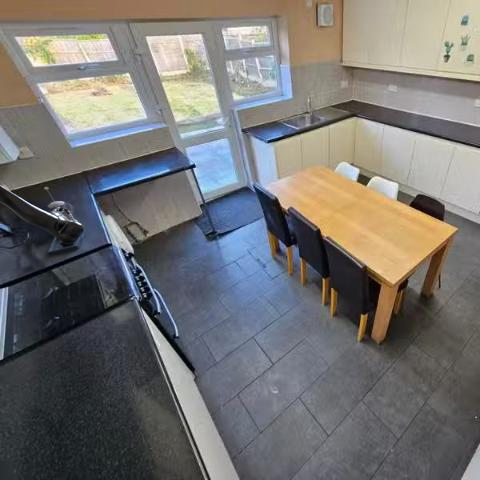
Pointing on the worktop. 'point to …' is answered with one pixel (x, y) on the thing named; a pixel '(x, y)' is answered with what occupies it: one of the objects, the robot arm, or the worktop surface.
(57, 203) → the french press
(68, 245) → the brush
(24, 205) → the robot arm
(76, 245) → the tray
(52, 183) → the worktop surface
